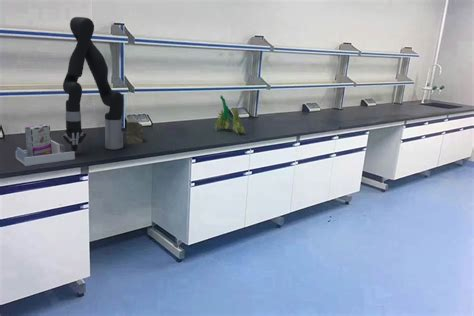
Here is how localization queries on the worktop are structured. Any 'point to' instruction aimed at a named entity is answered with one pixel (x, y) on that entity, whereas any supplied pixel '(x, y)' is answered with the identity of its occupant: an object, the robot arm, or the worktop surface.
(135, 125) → the stone block
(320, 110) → the worktop surface
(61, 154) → the grey shallow tray
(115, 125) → the robot arm
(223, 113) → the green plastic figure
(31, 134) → the candy bar box
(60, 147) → the pusher
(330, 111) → the worktop surface
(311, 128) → the worktop surface
